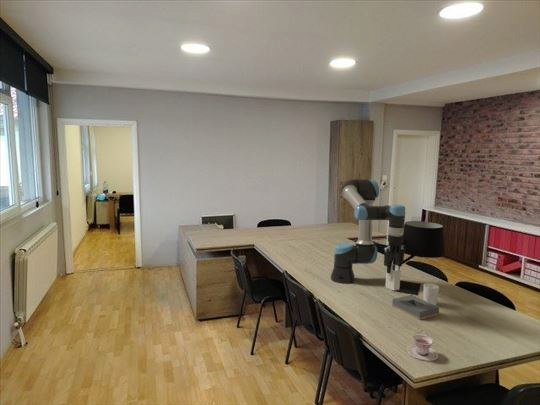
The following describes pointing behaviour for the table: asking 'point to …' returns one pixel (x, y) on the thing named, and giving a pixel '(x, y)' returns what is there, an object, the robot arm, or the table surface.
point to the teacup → (422, 348)
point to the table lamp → (421, 247)
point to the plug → (393, 279)
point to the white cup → (430, 293)
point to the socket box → (415, 307)
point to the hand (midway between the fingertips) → (392, 278)
